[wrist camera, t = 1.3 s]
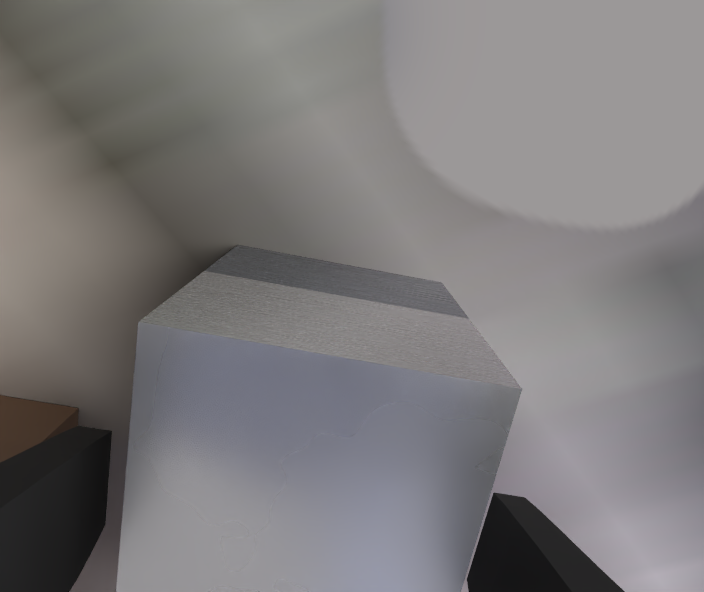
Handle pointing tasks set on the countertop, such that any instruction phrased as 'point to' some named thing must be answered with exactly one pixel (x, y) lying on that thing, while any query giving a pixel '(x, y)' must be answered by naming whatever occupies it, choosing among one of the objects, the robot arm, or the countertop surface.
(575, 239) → the countertop surface
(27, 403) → the stand
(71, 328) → the countertop surface
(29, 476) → the robot arm
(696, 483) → the countertop surface
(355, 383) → the block
